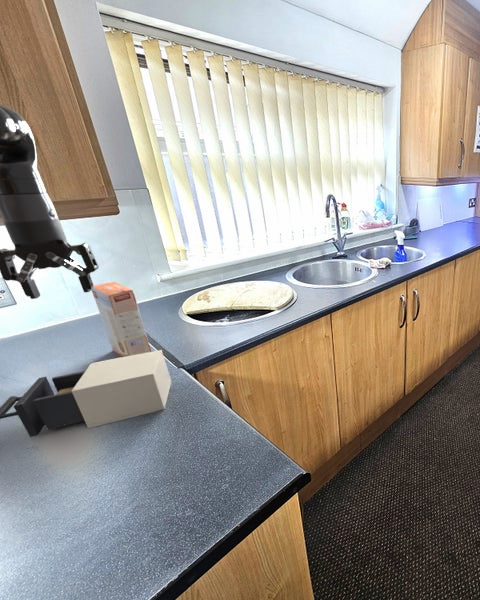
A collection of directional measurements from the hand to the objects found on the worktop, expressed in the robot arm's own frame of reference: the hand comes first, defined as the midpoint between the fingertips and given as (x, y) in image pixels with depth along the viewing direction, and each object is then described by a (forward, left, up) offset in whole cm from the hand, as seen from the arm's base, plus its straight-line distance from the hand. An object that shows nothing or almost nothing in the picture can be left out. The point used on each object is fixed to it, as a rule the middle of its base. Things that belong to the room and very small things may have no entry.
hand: (62, 294), depth 70 cm
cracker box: (+2, +21, -26) cm, 33 cm away
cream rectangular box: (+8, -7, -26) cm, 28 cm away
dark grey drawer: (-4, -7, -25) cm, 27 cm away
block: (-2, -7, -24) cm, 25 cm away
